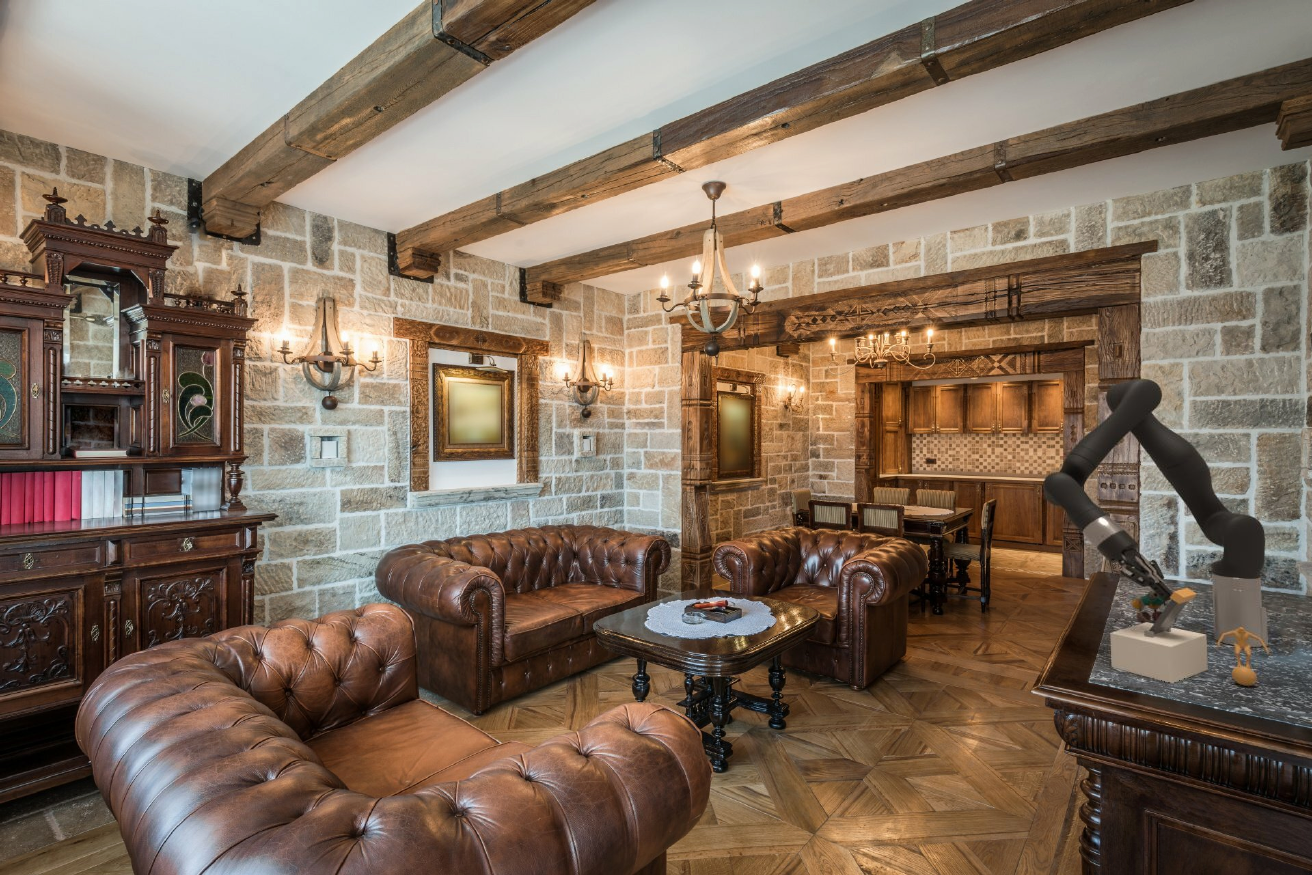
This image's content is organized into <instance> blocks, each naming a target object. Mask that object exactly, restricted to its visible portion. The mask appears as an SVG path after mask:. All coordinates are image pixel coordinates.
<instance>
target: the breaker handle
mask: <svg viewBox="0 0 1312 875" xmlns="http://www.w3.org/2000/svg"><path fill="white" fill-rule="evenodd" d="M1172 592H1173V594H1172V595H1171V597H1170V598H1171V600H1169V601H1168V604H1167V605H1166V606H1165V607H1166V608H1165V607H1164V609H1163V610H1162V611H1161V612H1162V613H1161V615H1160V616H1159V618H1158V619H1157V620H1156V621H1154V623H1152V624H1153V626H1152V627H1151V629H1150V630H1149V631H1152V632H1154V635H1155V634H1158V633H1161V632H1164V631H1167V629H1168V628H1169V627H1171V626H1172V624H1173V623H1174V621H1175V619H1176V617H1177V618H1178V616H1179V614H1180V613H1181V612H1182V611H1183V610H1184V608H1185V607H1186V605H1187V603H1188V602H1190V601H1193V600H1194V599H1195V597H1196V595H1197V593H1196V592H1195V591H1193V590H1191V589H1190V588H1189V587H1186V588H1182V589H1179V590H1176V591H1172ZM1170 625H1171V626H1170Z"/></svg>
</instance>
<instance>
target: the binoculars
mask: <svg viewBox="0 0 1312 875" xmlns="http://www.w3.org/2000/svg"><path fill="white" fill-rule="evenodd" d="M1166 602H1167V601H1164V600H1163V599H1162V598H1161V597H1160V596H1159V595H1158V594H1157V593H1156V592H1155V591H1154V590H1150V591H1148V593H1147V594H1145V595H1143V596H1141V597H1139V598H1136V599H1134V600H1132V601H1131V606H1132V607H1133V608H1134V609H1136V610H1138V611H1139V612H1137V613H1136V618H1137V620H1138V621H1139V622H1140V623H1141V624H1142V623H1145V622H1147V623H1151V622H1150V621H1151V619H1153V621H1154V622H1156V620H1157V619H1158V618H1159V616H1160V615H1161V613H1162V612H1163V611H1157V610H1159V609H1160V608H1161V606H1162V605H1163V606H1164V609H1165V608H1166V606H1167V605H1168V604H1167V603H1166ZM1145 607H1148V608H1150V609H1151V610H1153V613H1152V614H1150V613H1149V612H1147V611H1144V610H1145ZM1177 620H1178V616H1177V617H1176V619H1175V620H1174V621H1173V623H1172V624H1171V625H1170V627H1171V626H1173V625H1175V624H1176V623H1177Z"/></svg>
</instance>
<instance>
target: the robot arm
mask: <svg viewBox="0 0 1312 875" xmlns="http://www.w3.org/2000/svg"><path fill="white" fill-rule="evenodd" d="M1106 391H1107V392H1106V393H1105V394H1106V395H1105V402H1106V404H1107V406H1108V408H1109V410H1110V411H1111V414H1110V415H1109V416H1108V417H1107V418H1106V419H1105V420H1103V422H1101V423H1100V424H1099V425H1097V426H1096V427H1095V428H1093V429H1092V430H1091V431H1089V432H1088V433H1087V434H1086V435H1085V436H1083V437H1082V438H1081V440H1079V441H1078V442H1077V444H1075V446H1074V447H1073V448H1072V450H1071V451H1070V452H1069V453H1068V454H1067V456H1066V457H1065V458H1064V461H1063V464H1062V466H1061V468H1060V470H1059V471H1055V472H1051V473H1048V474H1047V476H1046V477H1045V479H1044V481H1043V486H1042V487H1043V493H1044V497H1045V499H1046V501H1047V502H1048V503H1049V504H1051V505H1052V506H1057V507H1061V508H1062V509H1063V510H1064V511H1065V513H1066V514H1067V517H1068V519H1069V520H1070V522H1071V523H1072V524H1073V525H1074V526H1075V527H1076V528H1077V529H1078V530H1079V531H1080V532H1081V533H1082V534H1083V535H1084V536H1085V537H1086V539H1087V540H1088V541H1089V542H1090V544H1091V545H1092V546H1094V548H1096V550H1097V551H1098V552H1099V553H1100V554H1101V555H1102V556H1103V557H1104V558H1105V559H1106V560H1107V561H1108V562H1109V563H1114V564H1115V563H1117V564H1118V565H1119V566H1120V567H1121V568H1122V569H1121V570H1119V573H1120V574H1121V575H1122V576H1124V577H1126V578H1127V579H1128V580H1130V581H1132V582H1134V583H1136V584H1137V585H1139V586H1140V587H1143V588H1145V587H1146V588H1148V589H1151V590H1152V591H1154V592H1155V593H1157V594H1158V595H1159V596H1160V597H1161V598H1162V599H1163V600H1164V601H1166V602H1169V601H1171V600H1172V599H1171V598H1170V597H1171V595H1172V594H1173V592H1174V591H1172V590H1171V589H1170V588H1169V587H1168V586H1167V585H1166V584H1165V583H1163V581H1164V579H1165V576H1164V573H1163V572H1162V570H1161V568H1160V565H1159V564H1158V562H1157V561H1156V560H1155V559H1152V560H1148V559H1147V557H1146V556H1144V555H1143V554H1142V553H1140V552H1139V551H1137V550H1138V549H1139V546H1140V544H1139V543H1138V541H1137V540H1135V538H1134V537H1132V536H1131V535H1130V533H1128V532H1127V531H1126V530H1125V529H1124V528H1122V526H1121V525H1120V524H1119V523H1118V522H1116V520H1114V519H1113V518H1111V517H1110V516H1109V515H1108V514H1107V513H1106V512H1105V511H1104V510H1102V509H1101V507H1100V506H1098V505H1097V504H1096V503H1095V502H1094V501H1093V500H1092V499H1091V498H1090V497H1089V495H1088V493H1087V492H1086V491H1085V490H1084V489H1083V487H1084V485H1085V484H1086V482H1087V480H1088V479H1089V477H1090V476H1091V475H1092V474H1093V473H1094V471H1095V470H1096V469H1098V467H1100V465H1101V463H1103V461H1104V460H1105V459H1106V457H1107V456H1108V455H1109V454H1110V452H1112V450H1113V449H1114V448H1116V446H1117V445H1118V444H1119V443H1120V442H1121V440H1123V438H1125V437H1126V436H1127V435H1128V434H1129V433H1131V434H1132V435H1133V436H1134V438H1135V439H1136V441H1138V443H1139V444H1140V446H1141V447H1142V448H1143V449H1144V451H1145V452H1146V453H1147V455H1148V456H1149V457H1150V458H1151V460H1152V462H1154V464H1155V466H1156V467H1157V468H1158V470H1159V471H1160V473H1161V474H1162V475H1163V477H1164V478H1165V479H1166V480H1167V481H1168V483H1169V484H1170V486H1172V488H1173V489H1174V491H1175V493H1177V495H1178V496H1179V497H1180V499H1181V500H1182V501H1183V503H1184V504H1185V505H1186V507H1187V508H1188V509H1189V511H1190V513H1191V515H1192V516H1193V518H1194V520H1195V522H1196V524H1197V525H1198V526H1199V528H1200V530H1201V532H1202V533H1203V535H1204V537H1205V538H1206V539H1207V540H1208V541H1209V542H1211V543H1212V544H1214V545H1216V546H1219V547H1223V553H1222V554H1223V556H1222V558H1221V559H1220V560H1217V561H1214V562H1213V563H1212V564H1211V577H1212V578H1211V580H1212V581H1211V583H1212V601H1213V602H1212V605H1213V628H1214V629H1213V632H1214V633H1213V634H1214V639H1215V640H1216V641H1217V642H1218V641H1219V639H1220V638H1221V635H1222V634H1223V633H1227V632H1230V631H1234V630H1236V629H1239V628H1240V627H1242V628H1244V630H1245V631H1247V632H1249V633H1251V634H1253V635H1255V636H1257V637H1259V638H1261V639H1262V641H1263V643H1264V644H1265V645H1266V647H1268V644H1269V643H1268V642H1269V641H1268V621H1267V620H1268V619H1267V618H1268V616H1267V608H1266V607H1264V606H1262V605H1263V603H1262V587H1261V586H1262V583H1261V582H1262V581H1261V577H1262V576H1261V572H1262V570H1263V568H1264V565H1265V559H1266V558H1265V555H1266V552H1265V551H1266V534H1265V533H1266V532H1265V529H1264V527H1263V524H1262V523H1261V521H1260V520H1258V519H1257V518H1256V517H1254V516H1252V515H1248V514H1245V513H1235V512H1231V511H1230V510H1229V509H1228V508H1227V507H1226V506H1225V505H1224V504H1223V502H1222V501H1221V500H1220V499H1219V497H1218V496H1217V495H1216V492H1215V491H1214V488H1213V482H1212V475H1211V473H1212V472H1211V470H1210V468H1209V466H1208V463H1207V462H1206V461H1205V459H1204V458H1203V457H1202V456H1201V454H1200V452H1199V451H1198V450H1197V448H1196V447H1195V446H1194V445H1193V444H1191V442H1189V440H1187V439H1186V438H1184V437H1183V436H1181V435H1180V434H1178V433H1176V432H1175V431H1174V430H1172V429H1171V428H1169V427H1167V426H1166V425H1164V424H1163V423H1162V422H1160V420H1158V419H1157V418H1156V416H1155V415H1154V414H1153V412H1154V411H1155V410H1156V409H1157V408H1158V407H1159V405H1160V404H1161V402H1162V400H1163V399H1162V398H1163V392H1162V389H1161V386H1160V385H1159V384H1158V383H1157V382H1155V381H1153V380H1151V379H1150V378H1139V379H1132V380H1127V381H1121V382H1119V383H1115V384H1113V385H1111V386H1110V387H1109V388H1108V389H1107V390H1106ZM1220 643H1224V644H1227V645H1232V646H1234V643H1237V645H1238V641H1237V640H1236V637H1235V635H1227V636H1224V638H1223V639H1222V641H1221V642H1220ZM1247 645H1250V646H1251V648H1260V647H1263V646H1262V644H1261V643H1260V641H1259V640H1257V639H1255V638H1252V637H1248V640H1247V642H1246V646H1247Z"/></svg>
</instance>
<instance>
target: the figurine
mask: <svg viewBox="0 0 1312 875" xmlns="http://www.w3.org/2000/svg"><path fill="white" fill-rule="evenodd" d="M1227 635H1235V637H1236V640H1237V641H1238V645H1237V643H1234V645H1233V647H1234V654H1235V658H1236V660H1237V661H1236V663H1237V665H1236V666H1235V667H1234V668H1233V669H1232V670H1231V678H1232V679H1233V680H1234V681H1235V682H1236V683H1237V684H1238V685H1241V686H1245V687H1246V686H1247V687H1249V686H1253V685H1255V684H1256V683H1257V681H1258V677H1257V674H1256V672H1255V671H1254V670H1253V669H1252V668H1251V666H1250V660H1251V656H1252V650H1251V648H1252V647H1251V646H1250V645H1247V646H1246V642H1247V640H1248V637H1252V638H1255V639H1257V640H1259V641H1260V643H1261V644H1262V646H1261V647H1263V648H1264V649H1265V652H1266V654H1267V655H1270V651H1269V649H1268V646H1266V645H1265V644H1264V643H1263V641H1262V639H1261V638H1259V637H1257V636H1255V635H1253V634H1251V633H1249V632H1247V631H1245V630H1244V628H1242V627H1240V628H1239V629H1236V630H1234V631H1230V632H1227V633H1223V634H1222V635H1221V638H1220V639H1219V641H1218V640H1217V643H1216V648H1219V647H1220V646H1221V644H1220V643H1222V642H1221V641H1222V639H1223V638H1224V636H1227ZM1242 650H1243V652H1244V653H1245V654H1246V657H1245V659H1246V660H1245V665H1242V664H1241V659H1240V658H1241V656H1240V653H1241V652H1242Z"/></svg>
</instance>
